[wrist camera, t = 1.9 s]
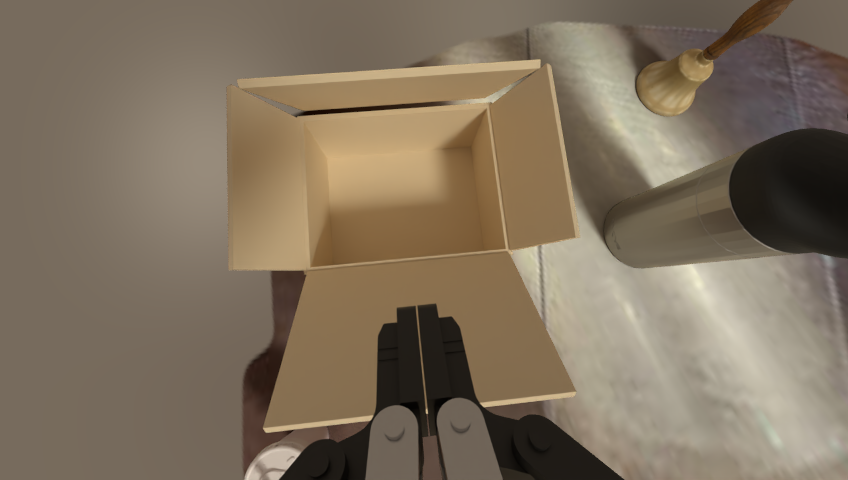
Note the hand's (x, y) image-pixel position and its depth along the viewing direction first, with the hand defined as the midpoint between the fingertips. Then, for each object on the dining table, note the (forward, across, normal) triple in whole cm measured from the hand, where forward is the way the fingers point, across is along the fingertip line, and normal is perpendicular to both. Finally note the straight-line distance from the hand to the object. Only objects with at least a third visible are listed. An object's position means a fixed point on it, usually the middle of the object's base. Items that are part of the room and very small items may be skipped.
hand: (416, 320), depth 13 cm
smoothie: (+10, +13, +31) cm, 35 cm away
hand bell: (+38, -38, +3) cm, 54 cm away
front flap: (+20, 0, -4) cm, 21 cm away
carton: (+25, 0, +16) cm, 29 cm away
